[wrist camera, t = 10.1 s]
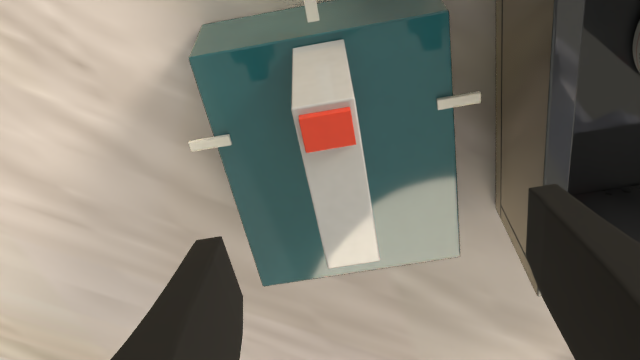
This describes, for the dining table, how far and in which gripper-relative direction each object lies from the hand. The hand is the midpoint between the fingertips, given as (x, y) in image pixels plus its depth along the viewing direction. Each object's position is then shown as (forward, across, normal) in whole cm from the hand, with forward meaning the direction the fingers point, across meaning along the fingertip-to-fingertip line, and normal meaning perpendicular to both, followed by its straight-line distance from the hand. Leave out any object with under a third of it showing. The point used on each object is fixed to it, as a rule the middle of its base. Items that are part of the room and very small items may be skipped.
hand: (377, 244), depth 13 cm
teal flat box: (+9, +1, +2) cm, 10 cm away
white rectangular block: (+6, +1, 0) cm, 6 cm away
